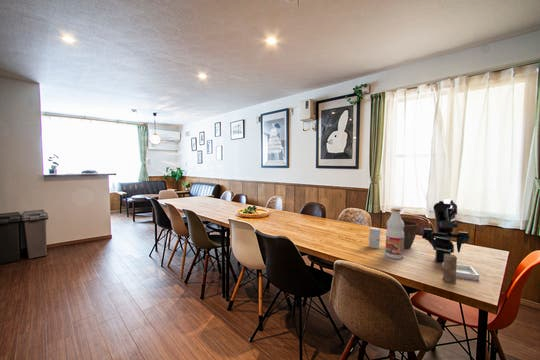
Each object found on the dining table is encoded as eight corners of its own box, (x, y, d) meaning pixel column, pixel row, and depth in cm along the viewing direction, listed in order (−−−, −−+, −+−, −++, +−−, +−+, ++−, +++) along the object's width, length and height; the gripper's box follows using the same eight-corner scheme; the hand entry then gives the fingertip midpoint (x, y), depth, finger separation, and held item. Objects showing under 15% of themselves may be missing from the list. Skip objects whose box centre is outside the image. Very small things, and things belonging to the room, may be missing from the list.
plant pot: (415, 252, 154) (416, 226, 153) (389, 247, 163) (390, 222, 162) (418, 246, 166) (419, 222, 165) (394, 241, 175) (394, 219, 174)
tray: (447, 275, 120) (448, 270, 120) (442, 266, 131) (442, 262, 131) (479, 280, 115) (479, 275, 115) (470, 270, 126) (470, 265, 126)
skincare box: (368, 247, 163) (369, 228, 162) (369, 245, 167) (370, 227, 166) (379, 248, 160) (379, 230, 159) (379, 246, 164) (380, 228, 163)
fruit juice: (407, 259, 142) (408, 210, 140) (391, 259, 141) (392, 210, 140) (397, 253, 151) (398, 207, 150) (382, 253, 150) (383, 207, 149)
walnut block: (444, 282, 113) (446, 256, 112) (442, 279, 117) (443, 253, 116) (455, 284, 111) (456, 257, 111) (453, 280, 115) (454, 255, 114)
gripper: (423, 212, 126) (426, 239, 116) (469, 215, 119) (476, 245, 109) (420, 224, 134) (423, 251, 124) (463, 228, 126) (469, 257, 117)
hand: (447, 251), depth 118 cm, fingers open, 9 cm apart
